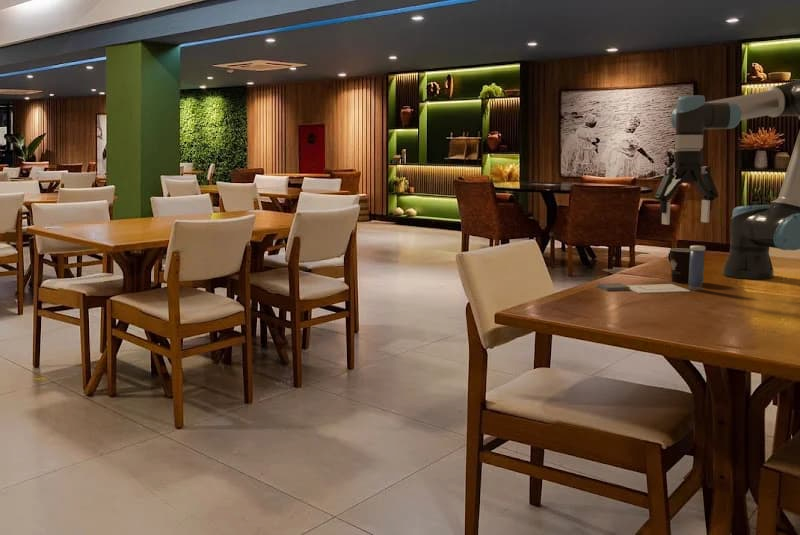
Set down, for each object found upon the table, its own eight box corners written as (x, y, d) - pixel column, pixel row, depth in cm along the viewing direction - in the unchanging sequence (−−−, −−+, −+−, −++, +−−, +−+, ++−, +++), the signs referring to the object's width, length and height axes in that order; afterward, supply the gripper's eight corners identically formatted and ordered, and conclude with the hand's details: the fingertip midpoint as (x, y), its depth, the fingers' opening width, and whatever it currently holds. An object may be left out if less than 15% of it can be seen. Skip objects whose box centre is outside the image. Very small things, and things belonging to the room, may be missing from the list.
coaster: (619, 286, 231) (619, 282, 231) (629, 290, 225) (629, 287, 224) (597, 286, 230) (597, 283, 230) (607, 291, 223) (607, 287, 223)
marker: (697, 288, 227) (700, 245, 225) (705, 290, 223) (708, 247, 221) (684, 288, 227) (687, 245, 225) (692, 291, 223) (694, 247, 221)
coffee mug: (699, 284, 234) (701, 252, 232) (670, 283, 236) (671, 251, 234) (692, 278, 245) (694, 247, 244) (664, 277, 247) (666, 246, 245)
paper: (671, 285, 233) (671, 283, 233) (690, 291, 222) (690, 290, 222) (622, 286, 230) (622, 285, 230) (638, 293, 220) (639, 292, 220)
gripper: (716, 149, 226) (712, 220, 230) (643, 150, 219) (641, 223, 223) (733, 149, 219) (729, 222, 223) (659, 150, 212) (656, 226, 216)
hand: (685, 223), depth 223 cm, fingers open, 13 cm apart
